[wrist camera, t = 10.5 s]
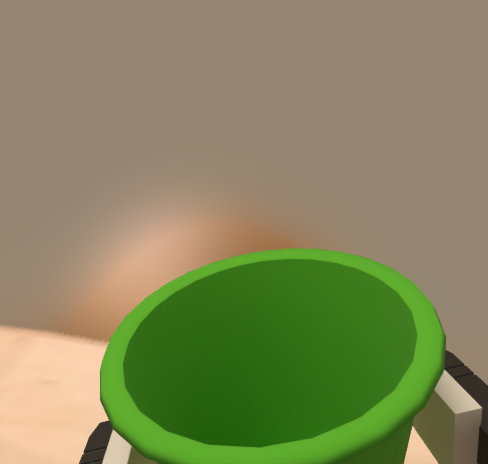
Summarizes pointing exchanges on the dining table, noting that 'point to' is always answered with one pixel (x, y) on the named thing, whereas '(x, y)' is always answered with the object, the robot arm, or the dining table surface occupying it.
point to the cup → (275, 363)
